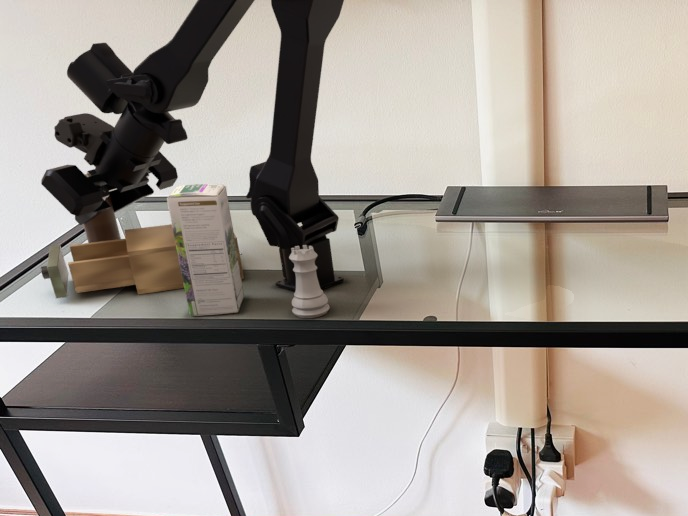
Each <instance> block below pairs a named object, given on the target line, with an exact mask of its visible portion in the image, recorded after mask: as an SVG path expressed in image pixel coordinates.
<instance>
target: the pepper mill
mask: <svg viewBox="0 0 688 516" xmlns="http://www.w3.org/2000/svg"><path fill="white" fill-rule="evenodd" d="M84 174H85V175H86V176H87V177H89V176H88V175H87V173H84ZM105 201H106V202H107V203H108V204H109V205H110V206H111V207H110V208H109V209H107V210H106V211H104V212H102V213H101V214H99V215H98V216H96V217H95V218H93V219H91V220H90V221H88V222H86V223H85V224H83V225H82V226H83V228H84V232H85V236H86V239H87V243H93V242H101V241H109V240H117V239H122V237H121V233H120V230H119V229H120V228H119V226H118V222H117V218H116V214H115V213H116V212H115V213H114V209H113V205H112V201H111V198H110V195H109V196H108V197H107V198H106V199H105Z"/></svg>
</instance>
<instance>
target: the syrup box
mask: <svg viewBox="0 0 688 516" xmlns="http://www.w3.org/2000/svg"><path fill="white" fill-rule="evenodd" d="M227 191H228V190H227V186H226V185H224V184H217V183H192V184H191V183H190V184H184V185H178V186H176V187H175V188H174V190H172V192H171V193H170V194H169V195H168V197H166V203H167V207H168V213H169V218H170V222H171V224H172V228H173V233H174V238H175V243H176V249H177V253H178V258H179V264H180V269H181V273H182V278H183V283H184V288H183V289H184V292H185V293H184V294H185V298H186V303H187V308H188V312H189V316H191V317H199V316H200V317H201V316H212V315H223V314H233V313H234V314H237V313H239V311H240V309H241V306H242V304H243V301H244V298H245V291H244V286H243V279H241V273H240V267H239V261H238V255H237V249H236V243H235V237H234V234H235V232H234V226H233V225H234V224H233V221H232V214H231V210H230V203H229V197H228V192H227Z"/></svg>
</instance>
